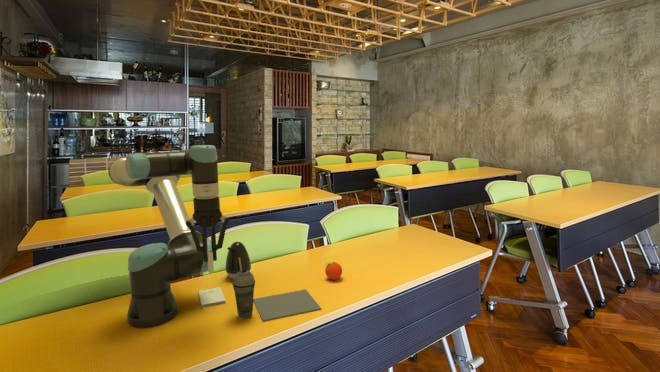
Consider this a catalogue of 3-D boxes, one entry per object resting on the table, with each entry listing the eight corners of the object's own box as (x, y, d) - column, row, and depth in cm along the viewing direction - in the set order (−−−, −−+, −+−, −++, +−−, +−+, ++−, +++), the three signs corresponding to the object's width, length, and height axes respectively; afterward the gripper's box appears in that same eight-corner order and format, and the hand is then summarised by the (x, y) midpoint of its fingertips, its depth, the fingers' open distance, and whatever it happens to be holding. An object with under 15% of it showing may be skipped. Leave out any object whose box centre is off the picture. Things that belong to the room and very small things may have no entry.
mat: (262, 321, 119) (262, 320, 119) (253, 300, 134) (253, 299, 133) (321, 309, 127) (321, 308, 126) (305, 290, 141) (305, 289, 141)
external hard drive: (201, 309, 129) (198, 294, 140) (225, 304, 132) (220, 290, 143) (201, 305, 128) (198, 290, 139) (225, 300, 132) (220, 286, 143)
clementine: (322, 282, 148) (322, 265, 147) (323, 275, 155) (322, 259, 154) (342, 282, 148) (342, 265, 147) (342, 275, 155) (342, 259, 154)
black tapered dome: (220, 279, 152) (218, 243, 149) (237, 270, 161) (236, 236, 158) (239, 284, 147) (237, 247, 145) (256, 275, 156) (254, 240, 154)
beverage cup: (251, 322, 119) (248, 262, 115) (230, 320, 120) (226, 261, 117) (260, 311, 126) (257, 254, 122) (239, 309, 127) (237, 253, 124)
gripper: (183, 200, 106) (189, 278, 110) (230, 197, 111) (234, 272, 115) (182, 196, 113) (188, 270, 117) (226, 192, 118) (230, 263, 122)
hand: (210, 270), depth 116 cm, fingers closed
